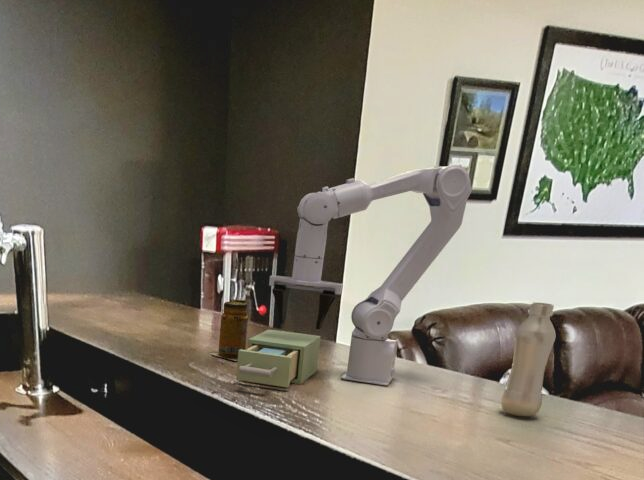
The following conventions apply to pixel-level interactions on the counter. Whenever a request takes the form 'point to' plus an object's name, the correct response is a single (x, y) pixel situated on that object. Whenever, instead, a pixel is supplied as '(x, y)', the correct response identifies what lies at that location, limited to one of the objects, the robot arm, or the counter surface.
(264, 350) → the light blue cube
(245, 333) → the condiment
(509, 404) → the plastic bottle
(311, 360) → the green drawer cabinet
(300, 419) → the counter surface
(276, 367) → the green drawer
